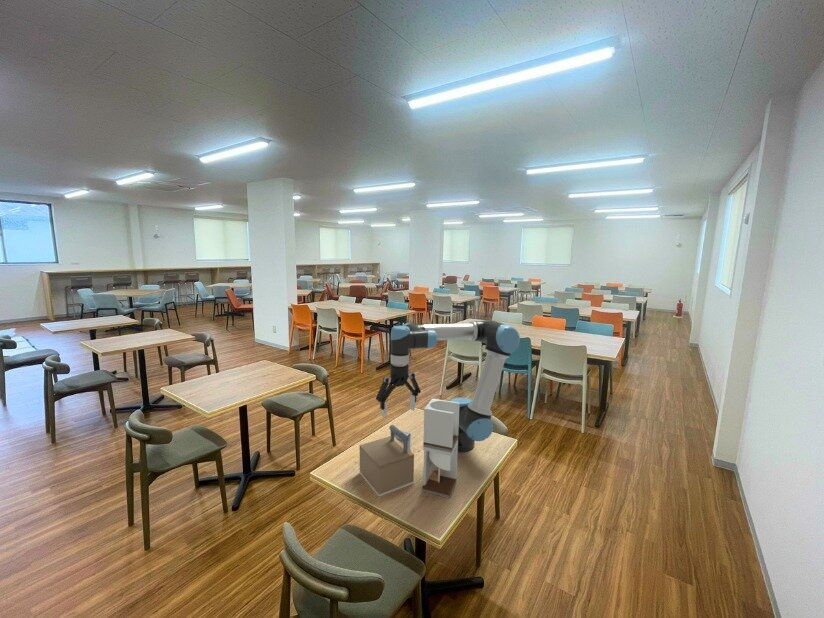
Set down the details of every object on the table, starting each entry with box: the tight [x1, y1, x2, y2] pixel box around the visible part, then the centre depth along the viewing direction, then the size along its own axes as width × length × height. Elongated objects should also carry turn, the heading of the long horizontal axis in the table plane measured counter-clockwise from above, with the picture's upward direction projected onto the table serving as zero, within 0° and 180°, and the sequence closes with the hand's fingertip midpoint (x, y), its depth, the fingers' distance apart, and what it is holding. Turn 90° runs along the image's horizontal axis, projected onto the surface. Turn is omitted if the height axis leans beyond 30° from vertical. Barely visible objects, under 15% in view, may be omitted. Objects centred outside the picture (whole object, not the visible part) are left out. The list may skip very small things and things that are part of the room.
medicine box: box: [394, 430, 412, 451], centre depth 173 cm, size 8×4×9 cm, turn 62°
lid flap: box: [359, 424, 415, 468], centre depth 149 cm, size 16×18×8 cm
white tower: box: [421, 398, 460, 499], centre depth 144 cm, size 11×11×35 cm
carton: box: [359, 447, 415, 498], centre depth 151 cm, size 16×18×12 cm
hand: (398, 412), depth 151 cm, fingers open, 13 cm apart
